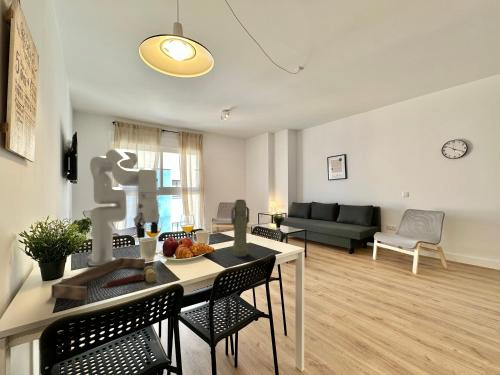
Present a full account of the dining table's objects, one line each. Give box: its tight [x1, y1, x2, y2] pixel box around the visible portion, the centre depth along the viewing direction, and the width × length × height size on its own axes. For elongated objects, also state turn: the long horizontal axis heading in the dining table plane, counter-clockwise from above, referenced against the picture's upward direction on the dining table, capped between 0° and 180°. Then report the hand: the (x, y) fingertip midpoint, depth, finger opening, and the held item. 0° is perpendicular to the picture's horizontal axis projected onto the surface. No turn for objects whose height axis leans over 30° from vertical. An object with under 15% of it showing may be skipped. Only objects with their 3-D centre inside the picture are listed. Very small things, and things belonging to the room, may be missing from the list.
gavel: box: [101, 265, 158, 288], centre depth 97 cm, size 21×5×10 cm
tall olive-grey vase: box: [230, 199, 250, 258], centre depth 138 cm, size 9×12×35 cm
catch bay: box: [50, 256, 146, 301], centre depth 100 cm, size 15×35×4 cm, turn 170°
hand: (147, 235), depth 96 cm, fingers open, 9 cm apart
